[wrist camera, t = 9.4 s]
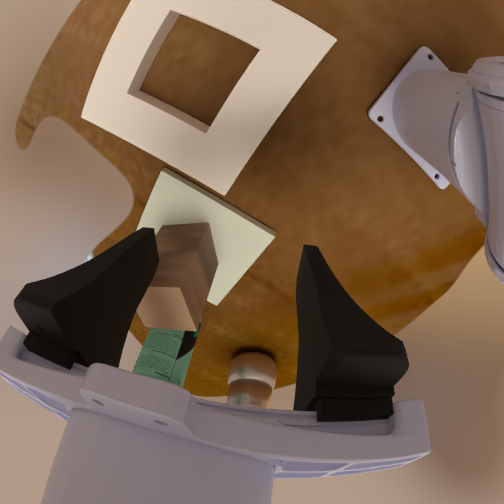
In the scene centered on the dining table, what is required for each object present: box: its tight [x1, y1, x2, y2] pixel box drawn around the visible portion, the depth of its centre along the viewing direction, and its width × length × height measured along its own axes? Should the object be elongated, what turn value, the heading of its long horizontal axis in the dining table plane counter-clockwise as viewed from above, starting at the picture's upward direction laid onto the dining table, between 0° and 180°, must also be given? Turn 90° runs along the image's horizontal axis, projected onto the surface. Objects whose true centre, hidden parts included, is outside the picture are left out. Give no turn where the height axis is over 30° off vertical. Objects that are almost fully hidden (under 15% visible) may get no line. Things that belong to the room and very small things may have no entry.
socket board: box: [81, 0, 337, 196], centre depth 16 cm, size 14×14×2 cm
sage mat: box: [136, 167, 276, 306], centre depth 26 cm, size 11×11×1 cm
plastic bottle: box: [227, 352, 277, 409], centre depth 29 cm, size 6×7×20 cm
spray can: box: [132, 317, 202, 387], centre depth 25 cm, size 6×6×20 cm
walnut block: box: [136, 223, 218, 331], centre depth 22 cm, size 4×4×8 cm
